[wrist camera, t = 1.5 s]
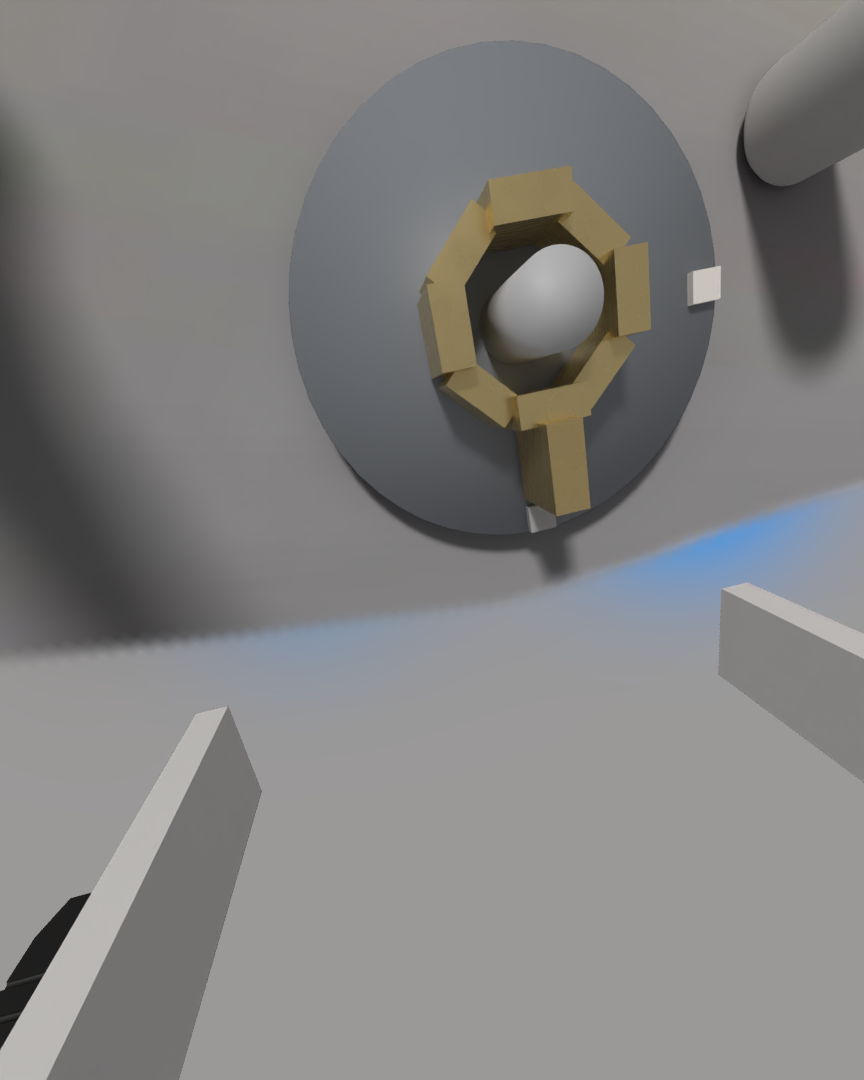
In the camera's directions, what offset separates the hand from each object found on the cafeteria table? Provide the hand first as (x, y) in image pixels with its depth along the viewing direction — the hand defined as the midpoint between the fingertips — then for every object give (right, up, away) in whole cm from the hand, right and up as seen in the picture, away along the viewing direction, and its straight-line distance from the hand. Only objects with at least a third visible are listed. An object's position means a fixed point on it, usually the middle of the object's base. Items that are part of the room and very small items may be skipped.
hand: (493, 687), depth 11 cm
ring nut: (+4, +14, +15) cm, 21 cm away
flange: (+3, +17, +16) cm, 24 cm away
